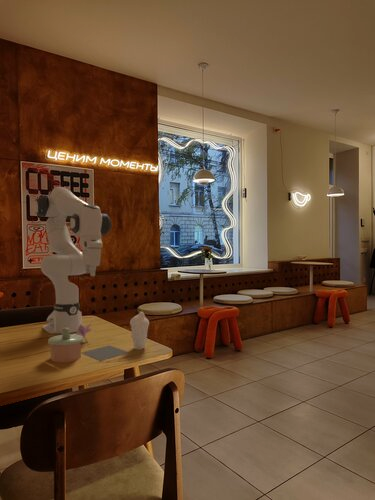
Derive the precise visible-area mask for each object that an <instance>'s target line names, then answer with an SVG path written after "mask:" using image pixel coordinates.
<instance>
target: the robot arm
mask: <svg viewBox="0 0 375 500" xmlns="http://www.w3.org/2000/svg"><path fill="white" fill-rule="evenodd" d="M33 203H34V204H33V210H34V212H35V214H36V215H37V216H38V217H40V218H45V217H48V218H47V220H45V221H46V222H45V231H46V236H47V239H48V244H49V246H50V249H51V251H53V252H54V254H50V255H46V256H44V257H43V258H42V259H41V262H40V271H41V272H42V274H43V275H44V276H46V277H47V278H49V280H51V282H52V284H53V287H54V292H55V303H54V304H53V311H52V312H51V313H50V314H49V315H48V316H47V318H46V320H45V321H46V324H45V325H42V329H43V330H45V331H46V332H47V333H49V334H52V335H53V334H62V328H70V334H74V333H77V329H78V327H79V326H80V324H82V325H83V326H84V327H85V325H84V324H83V316H82V314H83V313H82V311H80V306H81V304H80V302H79V301H80V296H79V295H80V294H79V292H80V291H79V290H80V289H79V287H78V285H76V284H75V283H73V282H71V281H70V280H69V279H68V277H69V276H81V275H84V274H87V275H88V274H90V277H95V276H96V270H97V267H99V266H100V263H101V259H102V248H103V246H104V245H103V241H102V236H106V235H108V233H110V231H112V227H113V222H112V220H111V219H112V218H111V217H110V216H109V215H108V214H107V213H102V211H101V207H99V206H98V205H95V204H94V205H93V204H89V203H87V202H86V201H84V200H83V199H80V197H78V196H76V195H75V194H74V193H73V192H72V191H71V190H69V189H68V188H66V187H63V186H57V187H55V188H53V189H52V191H51V193H50V195H49V196H47V195H43V196H39V197H37V198H36V199H35V200H34V202H33ZM67 220H68V221H69V229H70V231H71V232H72V233H73V234H76V235H79V246H80V247H82V251H81V250H79V248H77V246H76V245H75V244H74V242H73V240H72V237H71V234H70V231H69V229H68V226H67V223H66V222H67Z"/></svg>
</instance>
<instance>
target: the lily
mask: <svg viewBox="0 0 375 500" xmlns="http://www.w3.org/2000/svg"><path fill="white" fill-rule="evenodd" d="M92 324H93V323H89V324H88V325H87V326H85V325H84V324H83V323H82V324H80V326H79V327H78V329H77V332H75V334H77V335H81V336H83V339H84V340H85V341H86V343H87V345H89V342H88V340H87V339H86V334H87V333H89V332H91V331H92V328H90V326H91V325H92ZM83 325H84V326H83Z"/></svg>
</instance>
